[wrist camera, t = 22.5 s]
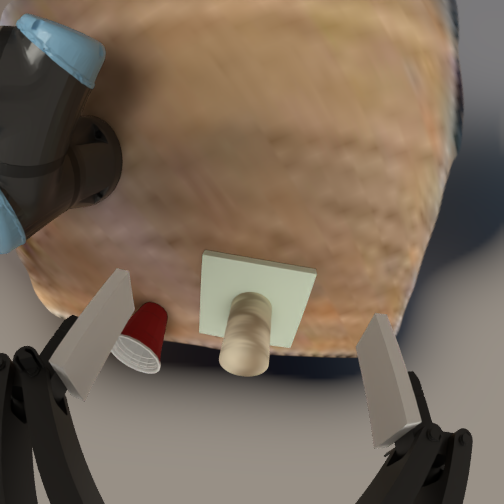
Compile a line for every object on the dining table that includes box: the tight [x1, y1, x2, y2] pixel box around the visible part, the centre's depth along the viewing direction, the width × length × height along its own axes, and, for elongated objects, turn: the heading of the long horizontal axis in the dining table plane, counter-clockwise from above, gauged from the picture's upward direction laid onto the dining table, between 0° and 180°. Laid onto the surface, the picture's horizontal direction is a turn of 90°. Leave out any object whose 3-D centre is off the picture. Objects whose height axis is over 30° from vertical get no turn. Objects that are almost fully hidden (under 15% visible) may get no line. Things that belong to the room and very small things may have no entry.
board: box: [199, 250, 317, 348], centre depth 47 cm, size 18×18×2 cm
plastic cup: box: [111, 302, 168, 373], centre depth 47 cm, size 11×11×12 cm
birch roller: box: [219, 292, 272, 376], centre depth 41 cm, size 7×7×12 cm
